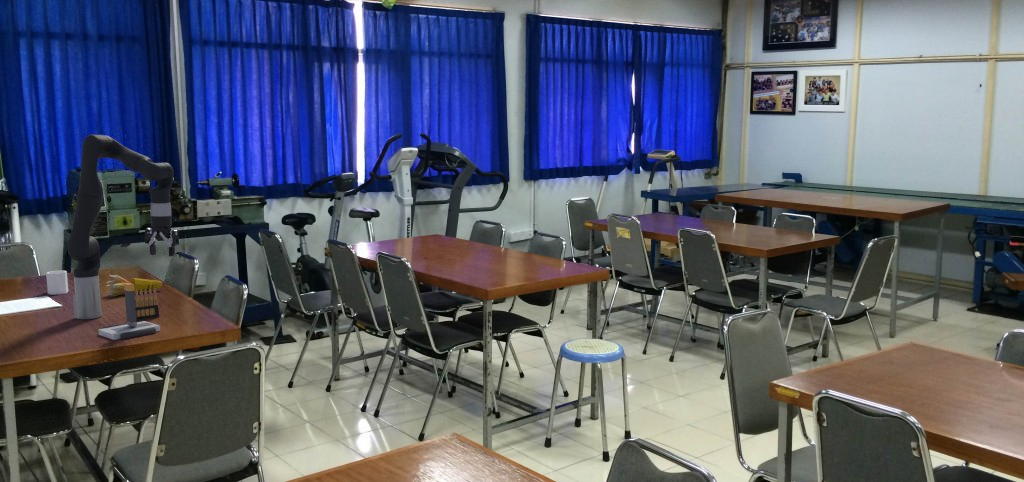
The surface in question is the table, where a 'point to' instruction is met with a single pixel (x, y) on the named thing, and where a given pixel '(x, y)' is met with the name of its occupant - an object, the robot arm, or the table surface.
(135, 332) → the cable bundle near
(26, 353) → the table surface
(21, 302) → the table surface
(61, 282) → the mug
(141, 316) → the ammunition clip
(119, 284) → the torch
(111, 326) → the grey bar
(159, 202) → the robot arm
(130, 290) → the lever
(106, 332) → the grey flat slab
